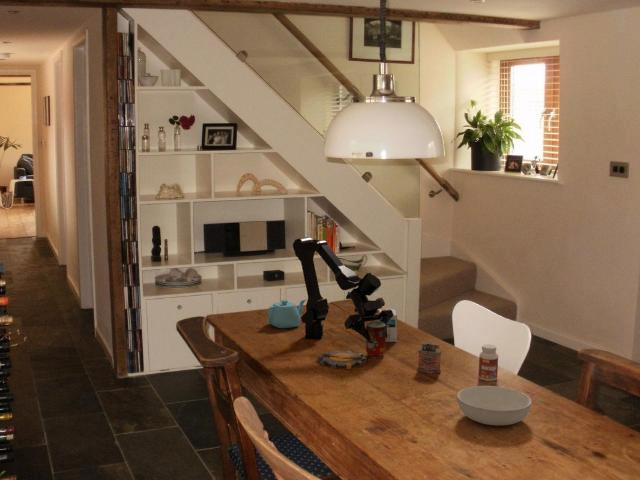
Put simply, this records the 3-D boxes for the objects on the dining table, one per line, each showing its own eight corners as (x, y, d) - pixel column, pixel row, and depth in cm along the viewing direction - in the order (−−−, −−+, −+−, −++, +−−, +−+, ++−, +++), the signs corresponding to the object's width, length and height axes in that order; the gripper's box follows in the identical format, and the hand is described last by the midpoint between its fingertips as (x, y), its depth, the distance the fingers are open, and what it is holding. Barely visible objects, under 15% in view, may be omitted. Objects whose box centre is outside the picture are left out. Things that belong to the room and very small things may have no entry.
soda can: (362, 356, 295) (362, 323, 293) (371, 351, 301) (372, 319, 299) (379, 359, 291) (380, 326, 290) (388, 354, 297) (389, 322, 295)
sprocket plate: (316, 368, 281) (316, 363, 281) (319, 354, 298) (319, 349, 297) (366, 369, 280) (366, 364, 280) (366, 354, 297) (366, 350, 297)
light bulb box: (397, 342, 313) (397, 315, 312) (379, 342, 314) (380, 315, 312) (395, 334, 324) (395, 308, 322) (378, 334, 324) (378, 308, 322)
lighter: (416, 371, 279) (416, 342, 277) (419, 368, 282) (420, 340, 280) (438, 374, 275) (439, 346, 274) (442, 371, 278) (442, 343, 277)
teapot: (313, 300, 335) (273, 305, 326) (313, 326, 336) (273, 331, 328) (299, 294, 346) (260, 299, 337) (299, 319, 347) (260, 324, 339)
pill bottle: (479, 381, 269) (480, 348, 267) (477, 375, 275) (478, 343, 273) (498, 381, 268) (499, 349, 267) (496, 375, 274) (497, 343, 273)
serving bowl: (525, 438, 222) (526, 414, 221) (449, 427, 230) (450, 404, 229) (534, 412, 241) (535, 390, 240) (464, 403, 249) (465, 381, 248)
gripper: (348, 293, 291) (365, 330, 284) (391, 288, 301) (408, 323, 293) (336, 310, 299) (353, 346, 291) (378, 304, 309) (395, 339, 301)
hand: (378, 338), depth 294 cm, fingers closed on soda can, 7 cm apart
